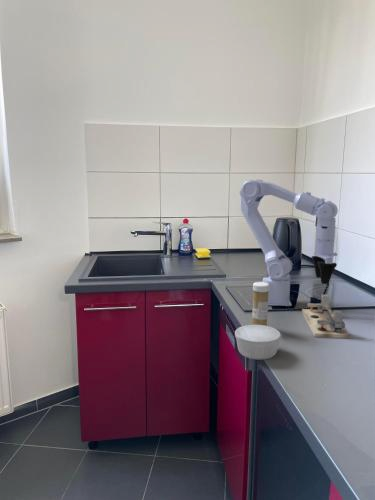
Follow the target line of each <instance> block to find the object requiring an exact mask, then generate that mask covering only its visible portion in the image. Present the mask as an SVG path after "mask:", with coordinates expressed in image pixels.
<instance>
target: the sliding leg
mask: <svg viewBox="0 0 375 500" xmlns="http://www.w3.org/2000/svg"><path fill="white" fill-rule="evenodd" d="M329 301H330V296H329V294H321V298H320V302H318V303H312V302H311V303H307V305H306V306H307V307H308V308H310V311H313V308H317V310H319V312H322V311H323V310H327V311H328V312H329V313H331V311H332V305H331V303H330V302H329Z"/></svg>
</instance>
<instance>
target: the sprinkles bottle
mask: <svg viewBox="0 0 375 500" xmlns="http://www.w3.org/2000/svg"><path fill="white" fill-rule="evenodd" d="M252 291H253V294H252V295H253V296H252V299H253V300H252V312H251V313H252V319H251V320H252V321H251V322H252V323H251V325H265V326H268V315H269V313H268V311H269V305H268V292H269V284H268V283H265V282H263V281H255V282H254V283H253V284H252Z"/></svg>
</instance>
